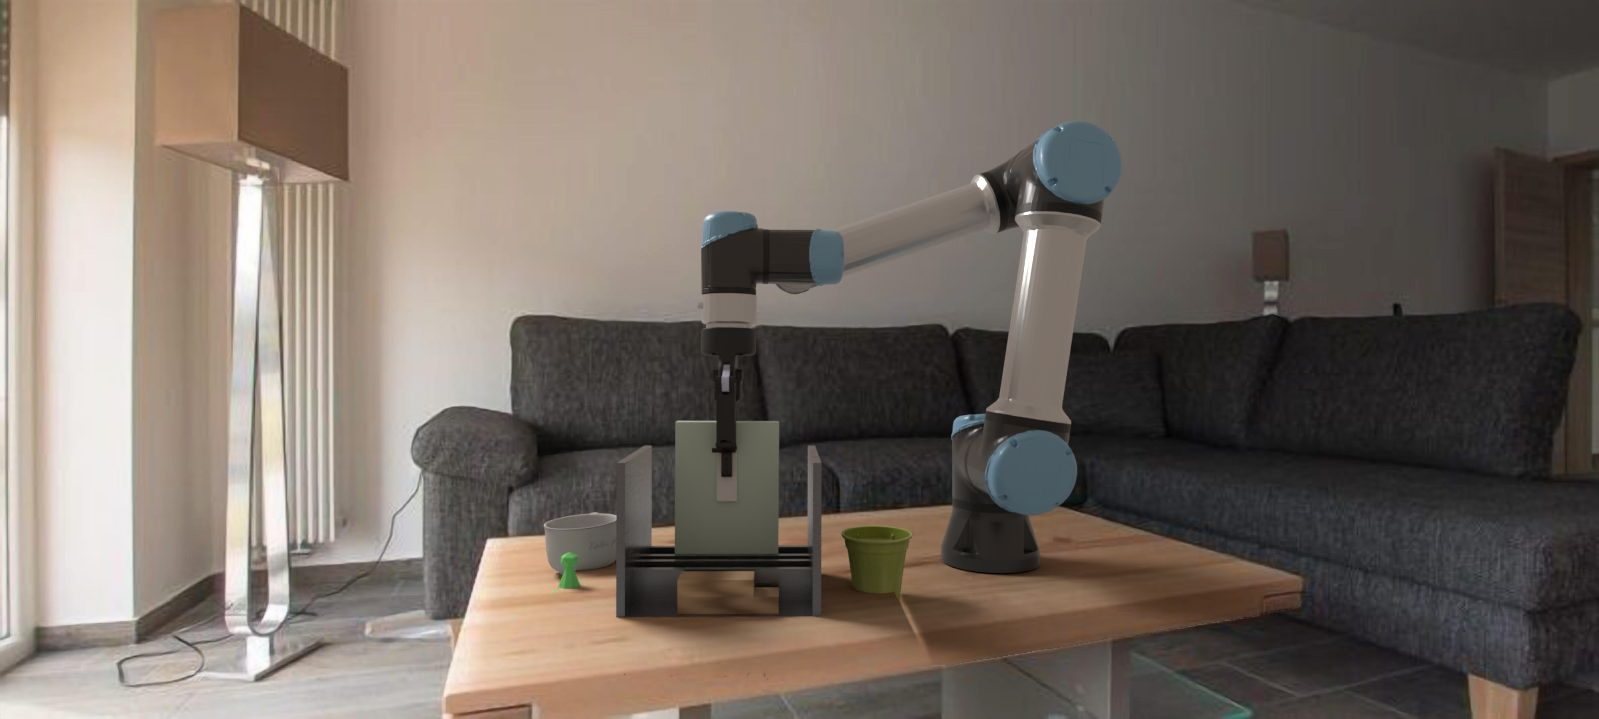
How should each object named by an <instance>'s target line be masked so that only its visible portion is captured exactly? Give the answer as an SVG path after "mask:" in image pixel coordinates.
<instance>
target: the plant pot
mask: <svg viewBox="0 0 1599 719" xmlns="http://www.w3.org/2000/svg"><path fill="white" fill-rule="evenodd" d="M840 533H841V537H842V538H843V539H844V544H845V548H846V550H847V556H848V562H849V569H850V575H851V576H850V577H851V582H852V585H851V586H852V588H853V589H855V590H856V591H859V592H861V593H868V594H889V593H894V594H895V596H896V599H897V600H900V598H901V592H902V591H901V590H902V585H903V576H904V569H905V561H906V554H907V550H908V548H909V543H910V540H911V539H913V533H912V531H910V530H908V529H906V528H902V527H896V526H891V525H890V526H889V525H862V526H861V525H859V526H854V527H847V528H846V529H843V530H842V531H841V532H840Z"/></svg>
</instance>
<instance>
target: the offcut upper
mask: <svg viewBox="0 0 1599 719" xmlns="http://www.w3.org/2000/svg"><path fill="white" fill-rule="evenodd" d="M754 588H755V571H682V572H681V574H680V576H679V578H678V580H677V597H753V596H754Z"/></svg>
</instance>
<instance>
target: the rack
mask: <svg viewBox="0 0 1599 719" xmlns="http://www.w3.org/2000/svg"><path fill="white" fill-rule="evenodd" d="M652 448H653V446H652V445H643V446H641V447H639V448H638V449H637V450H635V451H633V452H632V453H630V454H629V455H627V456H625V457H624V458H622V459H621V460H619V461H617V462H616V491H615V492H616V496H615V497H616V501H615V502H616V504H615V505H616V511H615V512H616V514H615V515H616V560H615V561H616V565H615V567H616V568H615V570H616V572H615V574H616V575H615V576H616V577H615V579H616V580H615V586H616V587H615V588H616V589H615V590H616V591H615V592H616V593H615V606H616V607H615V618H731V617H732V618H738V617H739V618H743V617H744V618H750V617H751V618H752V617H753V618H758V617H759V618H760V617H761V618H766V617H769V618H770V617H771V618H772V617H775V618H777V617H778V618H779V617H781V618H782V617H785V618H787V617H789V618H790V617H793V618H794V617H796V618H797V617H802V618H803V617H804V618H805V617H806V618H807V617H822V482H823V480H822V478H823V477H822V474H823V473H822V469H823V468H822V460H821V458H820V456H819V452H818V450H817V446H816V445H807V545H805V544H803V545H801V544H799V545H798V544H797V545H794V544H793V545H791V544H789V545H787V544H785V545H784V544H783V545H782V544H781V545H780V544H778V554H675V545H652V544H653V543H652V542H653V540H652V535H653V534H652V533H653V532H652V528H653V524H652V519H653V517H652V516H653V514H652V512H653V511H652V510H653V506H652V503H653V502H652V500H653V498H652V496H653V489H652V487H653V486H652V484H653V482H652V480H653V478H652V477H653V476H652V474H653V469H652V468H653V467H652V466H653V464H652V462H653V460H652V459H653V458H652V455H653V449H652ZM682 571H755V587H779V614H677V580H678V578H679V576H680V574H681V572H682Z"/></svg>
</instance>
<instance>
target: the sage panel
mask: <svg viewBox="0 0 1599 719" xmlns="http://www.w3.org/2000/svg"><path fill="white" fill-rule="evenodd" d="M674 427H675V431H674V432H675V438H674V440H675V441H674V442H675V443H674V444H675V445H674V447H675V448H674V451H675V452H674V453H675V454H674V455H675V456H674V459H675V460H674V461H675V462H674V470H675V471H674V496H675V497H674V546H675V554H778V545H779V527H780V526H779V524H780V523H779V522H780V521H779V519H780V518H779V513H780V512H779V508H780V507H779V506H780V505H779V503H780V502H779V500H780V498H779V497H780V496H779V494H780V493H779V492H780V491H779V490H780V488H779V487H780V486H779V485H780V484H779V483H780V481H779V478H780V477H779V476H780V421H779V420H739V421H736V446H737V450H736V452H737V501H717V453H712V448H716V442H717V440H716V420H676V421H675V425H674Z"/></svg>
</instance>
